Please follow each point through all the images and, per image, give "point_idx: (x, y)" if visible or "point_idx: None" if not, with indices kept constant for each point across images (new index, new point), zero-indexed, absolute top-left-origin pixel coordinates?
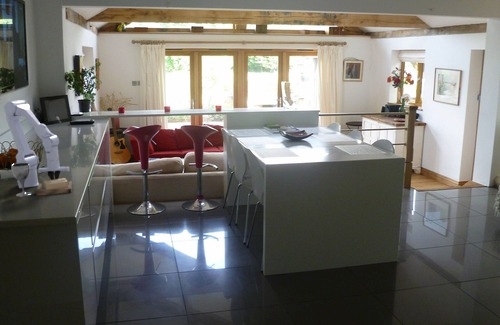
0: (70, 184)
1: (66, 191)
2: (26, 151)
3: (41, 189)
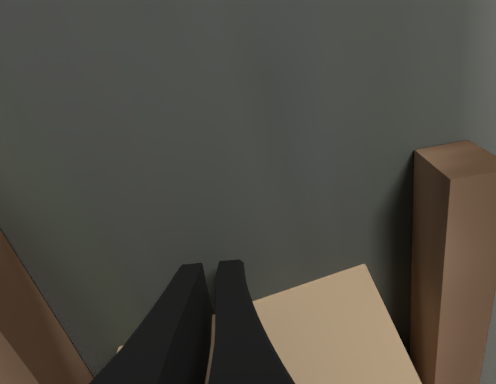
0: (466, 357)
1: None
2: None
3: (62, 338)
